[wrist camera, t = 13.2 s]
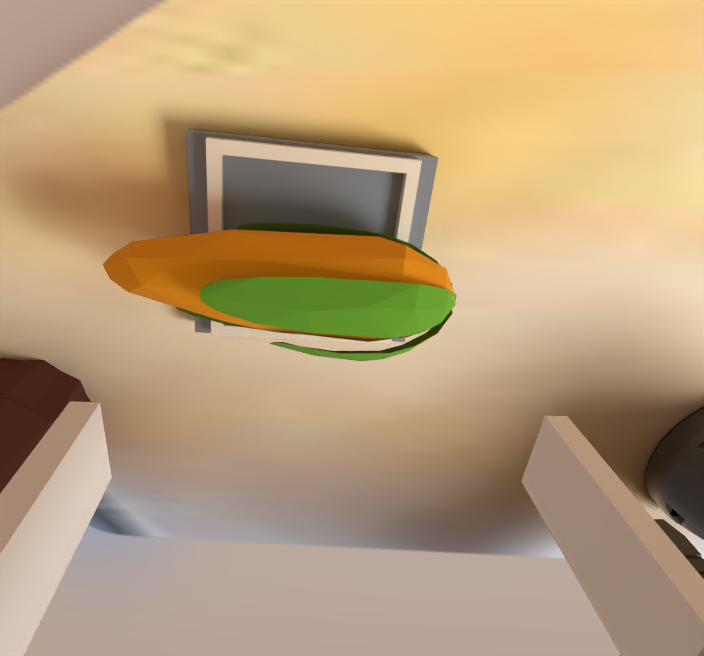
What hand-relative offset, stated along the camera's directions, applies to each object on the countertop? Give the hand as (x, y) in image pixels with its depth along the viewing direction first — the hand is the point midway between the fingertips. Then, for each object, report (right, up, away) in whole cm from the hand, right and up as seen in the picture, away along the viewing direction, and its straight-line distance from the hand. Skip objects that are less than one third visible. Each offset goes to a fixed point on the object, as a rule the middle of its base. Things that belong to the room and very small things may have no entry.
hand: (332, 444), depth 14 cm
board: (-2, +9, +18) cm, 20 cm away
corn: (-4, +7, +16) cm, 18 cm away
